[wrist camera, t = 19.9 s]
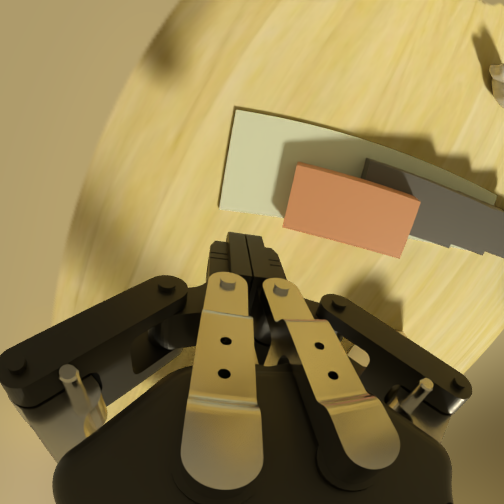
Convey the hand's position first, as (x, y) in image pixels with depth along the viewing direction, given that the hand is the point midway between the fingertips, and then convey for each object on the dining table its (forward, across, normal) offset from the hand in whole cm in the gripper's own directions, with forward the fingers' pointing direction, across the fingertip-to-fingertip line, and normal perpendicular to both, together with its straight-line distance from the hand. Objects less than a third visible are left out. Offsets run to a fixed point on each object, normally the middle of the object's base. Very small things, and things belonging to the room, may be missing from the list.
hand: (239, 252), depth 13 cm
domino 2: (+10, -10, -2) cm, 14 cm away
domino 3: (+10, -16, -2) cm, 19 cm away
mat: (+11, -15, -2) cm, 19 cm away
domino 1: (+10, -4, -1) cm, 11 cm away
